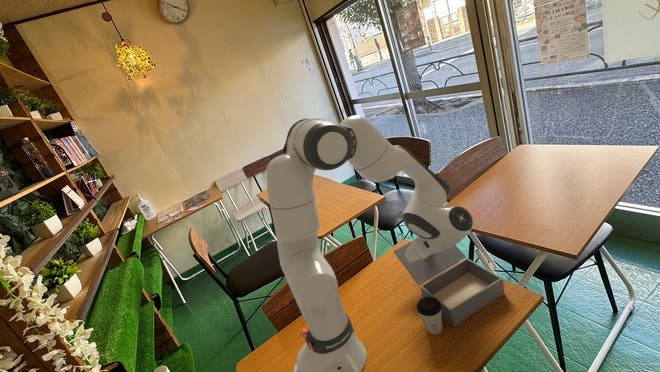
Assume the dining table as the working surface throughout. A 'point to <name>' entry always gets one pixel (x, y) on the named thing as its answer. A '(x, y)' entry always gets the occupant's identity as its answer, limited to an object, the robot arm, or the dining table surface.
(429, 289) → the mailer box
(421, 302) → the coffee cup
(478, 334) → the dining table surface
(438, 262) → the mailer lid
